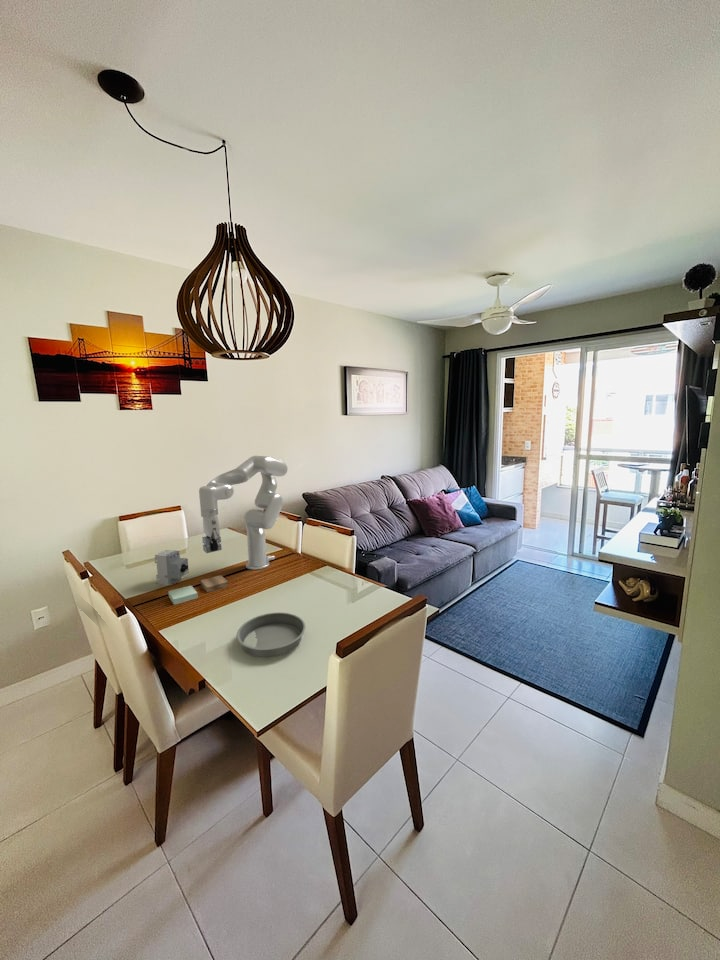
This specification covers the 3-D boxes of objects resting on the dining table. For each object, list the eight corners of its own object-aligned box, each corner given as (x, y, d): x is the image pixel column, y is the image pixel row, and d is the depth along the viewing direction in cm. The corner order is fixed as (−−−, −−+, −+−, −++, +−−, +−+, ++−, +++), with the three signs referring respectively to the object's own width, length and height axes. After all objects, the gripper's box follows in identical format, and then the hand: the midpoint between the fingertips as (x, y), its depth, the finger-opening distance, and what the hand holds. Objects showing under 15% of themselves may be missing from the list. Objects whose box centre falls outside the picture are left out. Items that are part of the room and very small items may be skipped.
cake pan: (274, 616, 157) (273, 605, 156) (319, 635, 143) (319, 624, 142) (223, 645, 137) (222, 633, 136) (269, 670, 123) (269, 658, 122)
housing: (218, 547, 185) (217, 534, 184) (221, 549, 182) (220, 536, 180) (203, 550, 181) (202, 537, 180) (206, 553, 177) (205, 539, 176)
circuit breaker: (182, 586, 184) (180, 557, 181) (156, 583, 186) (154, 554, 184) (192, 579, 191) (190, 551, 188) (167, 577, 194) (164, 549, 191)
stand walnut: (221, 579, 191) (221, 575, 191) (228, 586, 183) (228, 581, 183) (200, 585, 185) (200, 580, 184) (207, 592, 177) (206, 587, 177)
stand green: (191, 590, 179) (191, 585, 179) (197, 598, 172) (197, 592, 171) (168, 596, 173) (168, 591, 173) (174, 604, 166) (173, 599, 165)
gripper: (223, 514, 174) (226, 552, 177) (211, 507, 187) (214, 542, 190) (206, 517, 169) (210, 556, 172) (195, 510, 182) (199, 546, 186)
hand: (212, 548), depth 181 cm, fingers closed on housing, 5 cm apart
